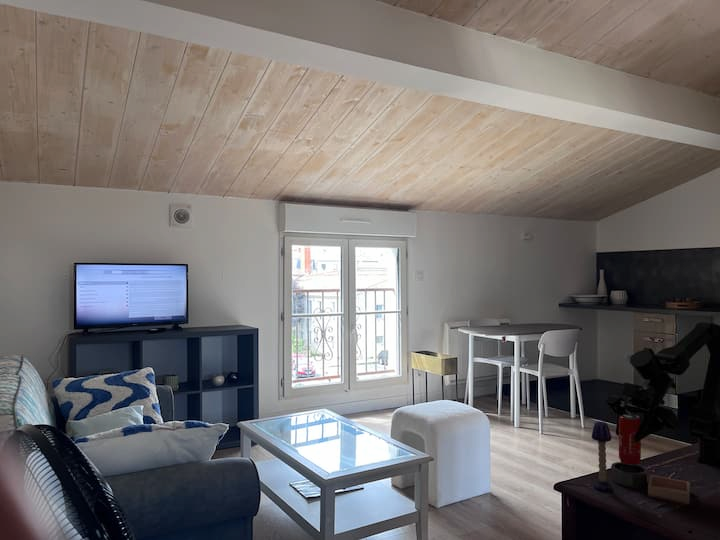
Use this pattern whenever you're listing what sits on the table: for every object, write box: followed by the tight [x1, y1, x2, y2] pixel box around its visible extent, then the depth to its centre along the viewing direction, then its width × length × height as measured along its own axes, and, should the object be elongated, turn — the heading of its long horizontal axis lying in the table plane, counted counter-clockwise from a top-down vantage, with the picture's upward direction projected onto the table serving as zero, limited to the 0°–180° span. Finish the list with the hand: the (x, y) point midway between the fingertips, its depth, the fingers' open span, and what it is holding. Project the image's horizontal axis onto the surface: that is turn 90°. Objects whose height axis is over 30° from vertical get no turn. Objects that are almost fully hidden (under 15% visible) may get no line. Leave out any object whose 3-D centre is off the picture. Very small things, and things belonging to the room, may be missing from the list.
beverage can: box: [618, 413, 642, 465], centre depth 143 cm, size 5×5×12 cm
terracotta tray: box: [647, 474, 691, 505], centre depth 135 cm, size 9×9×2 cm
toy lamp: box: [591, 421, 613, 493], centre depth 138 cm, size 5×5×17 cm
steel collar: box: [610, 461, 649, 489], centre depth 143 cm, size 8×8×4 cm
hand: (626, 437), depth 143 cm, fingers closed on beverage can, 5 cm apart
